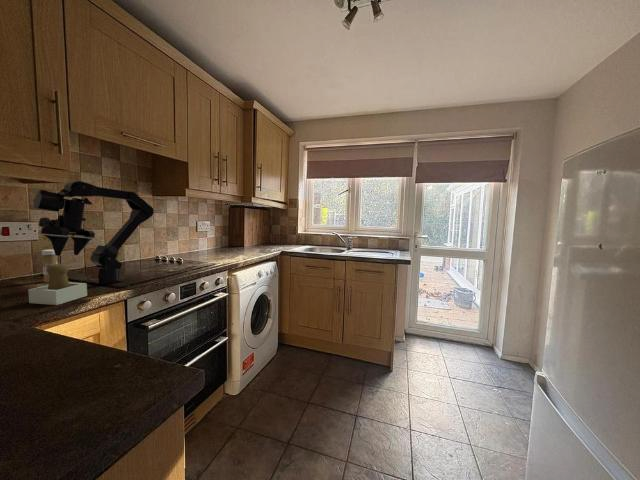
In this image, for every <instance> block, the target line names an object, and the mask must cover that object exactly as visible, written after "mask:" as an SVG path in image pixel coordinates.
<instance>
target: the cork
mask: <svg viewBox="0 0 640 480" xmlns="http://www.w3.org/2000/svg"><path fill="white" fill-rule="evenodd" d="M68 272H69V266H68V264H65V263H58V264H55V265H50V266H49V267H48V268H47V273H48V274H49V275H50V277H49V282H48V284H47V285H48V289H49V290H59V289H63V288H66V287H70V285H69V282H70V281H69V277H68Z"/></svg>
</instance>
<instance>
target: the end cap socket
mask: <svg viewBox="0 0 640 480" xmlns="http://www.w3.org/2000/svg"><path fill="white" fill-rule="evenodd" d="M48 285H49V284H45V285H42V286H38V287H34V288H29V289H28V290H27V291H28V302H29V304H38V305H39V304H40V305H51V306H52V305H53V306H59V305H61V304H64V303H68V302H71V301H73V300H78V299H81V298H84V297H88V285H87V283H86V282H72V281H71V282H70V281H69V285H70V287H66V288H63V289H59V290H49V289H48Z"/></svg>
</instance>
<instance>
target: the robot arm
mask: <svg viewBox="0 0 640 480" xmlns="http://www.w3.org/2000/svg"><path fill="white" fill-rule="evenodd" d="M79 197H80V198H79ZM83 197H84V198H83ZM88 197H98V198H108V199H115V200H116V199H117V200H124V201H126V203H127V205H128V207H129V208H130V209H131V211H130V214H129V218H128V219H127V220H126V222H125V223H124V224H123V225H122V226H121V227H120V228H119V229H118V231H117V232H116V233H115V234H114V236H112V238H111V239H110V240H109V241H108V243H106V244H105V245H102V244H101V245H100V244H99V245H97V246H96V248H95V249H94V250H93V251H92V252H91V256H90V261H91V263H92V264H93V265H95V266H96V268H97V269H98V274H97V276H98V277H97V278H98V281H97V282H95V284H97V285H108V284H110V285H112V284H111V283H114V284H116V283H115V282H117V283H119V282H118V281H121V282H123V279H120V274H119V273H120V271H119V269H120V270H121V268H122V264H123V263H122V262H121V261H118V260H117V258H118V256H119V252H120V251H119V250H120V249H121V248H122V246H123V245H124V244H125V243H126V242H127V240H128V239H129V238H130V237H131V236H132V234H133V233H134V232H135V231H136V230H137V228H138V227H139V226H140V225H141V224H142V223H144V222H146V221H148V220H149V219H150V218H151V217H152V216H153V215H154V214H155V210H154V207H153V206H152V205H150V204H148V202H147V201H146V200H144V199H143V198H141V197H140V196H139V194H137V193H136V192H135V191H128V190H122V189H115V188H114V189H113V188H108V187H107V188H106V187H102V186H101V187H100V186H97V185H94V184H91V183H89V182H84V181H81V180H76V181H68V182H67V183H65V185H64V188H62V189H61V190H60V191H58V192H52V191H49V190H44V189H38V191H37V194H36V195H35V197H34V198H33V203H32V204H33V208H34V209H35V210H42V211H48V212H49V211H50V212H55V213H56V212H57V213H58V212H59V211H60V210H61V211H62V214H61V215H60V214H59V215H58V216H57V219H50V218H49V217H46V216H45V217H41V218H40V219H39V220H38V227H40V228H41V229H40V234H43V237H46V238H47V239H49V240H50V242H51V244H52V250H54V252H55V255H57V257H59V256H61V254H62V252H63V250H64V248H65V246H66V244H67V242H68V239H69V237H70V238H71V240H73V255H74V256H78V255H79V254H80V253H81V252H82V251H83V249H84V248H85V247H86V246H87V245H88V243H89V242H90V241H91V240H93V239H95V236H96V233H95V232H94V231H93V230H89V229H88V230H87V229H85V228H82V227H83V222H85V221H86V218H85V217H84V213H85V206H86V205H90V206H91V205H93V203H92V202H91V201H90V200H89V198H88ZM68 198H71V199H68ZM68 235H69V236H68ZM70 235H71V236H70Z"/></svg>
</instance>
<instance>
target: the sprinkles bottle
mask: <svg viewBox="0 0 640 480" xmlns="http://www.w3.org/2000/svg"><path fill="white" fill-rule="evenodd" d="M41 256H42V271H43V272H42V273H43V274H42V275H43V282H44V283H49V277H50V275H49V274H48V273H47V268H48V267H49V266H50V265H55V264H59V263H58V256H57V255H55V252H54V249H43V250H41Z"/></svg>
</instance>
